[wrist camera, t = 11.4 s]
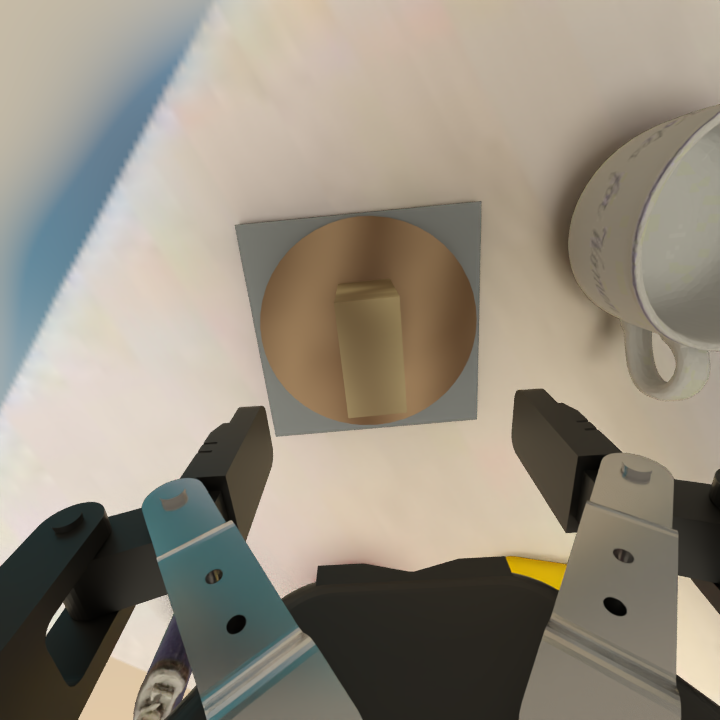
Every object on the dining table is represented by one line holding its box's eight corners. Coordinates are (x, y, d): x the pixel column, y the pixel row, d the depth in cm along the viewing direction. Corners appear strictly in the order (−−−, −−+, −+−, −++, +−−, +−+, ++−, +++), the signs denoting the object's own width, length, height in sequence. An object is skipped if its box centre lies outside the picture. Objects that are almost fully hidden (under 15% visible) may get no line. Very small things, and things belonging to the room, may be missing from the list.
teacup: (597, 96, 21) (732, 33, 13) (768, 155, 22) (980, 127, 15) (498, 334, 26) (558, 385, 18) (643, 373, 27) (755, 435, 19)
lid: (472, 204, 22) (513, 201, 16) (471, 407, 26) (503, 460, 21) (244, 228, 22) (207, 234, 16) (283, 426, 27) (264, 482, 21)
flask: (209, 626, 35) (151, 789, 25) (177, 618, 35) (105, 782, 25) (232, 553, 32) (177, 706, 22) (197, 544, 32) (124, 696, 22)
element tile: (582, 679, 39) (611, 739, 35) (440, 662, 38) (451, 721, 34) (650, 573, 34) (694, 627, 30) (489, 548, 33) (510, 601, 29)
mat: (476, 201, 23) (481, 201, 22) (472, 412, 28) (476, 419, 27) (239, 224, 23) (234, 225, 22) (278, 429, 28) (275, 436, 27)
